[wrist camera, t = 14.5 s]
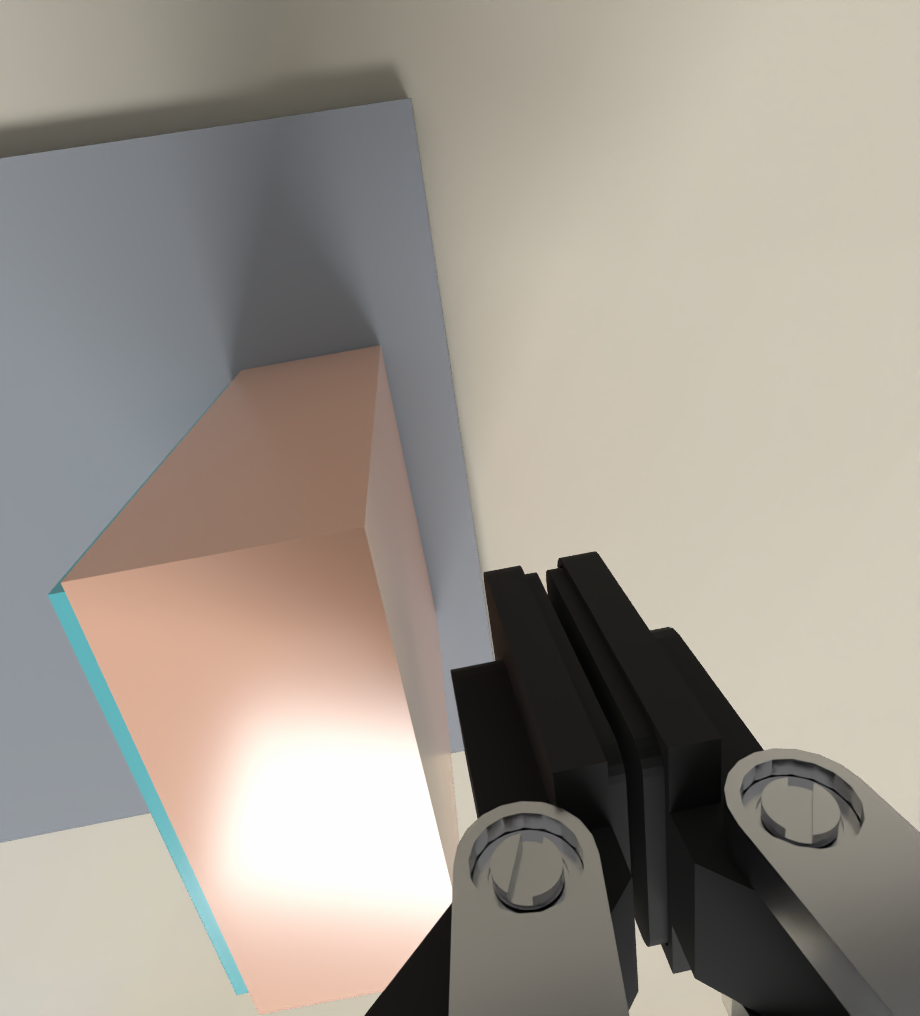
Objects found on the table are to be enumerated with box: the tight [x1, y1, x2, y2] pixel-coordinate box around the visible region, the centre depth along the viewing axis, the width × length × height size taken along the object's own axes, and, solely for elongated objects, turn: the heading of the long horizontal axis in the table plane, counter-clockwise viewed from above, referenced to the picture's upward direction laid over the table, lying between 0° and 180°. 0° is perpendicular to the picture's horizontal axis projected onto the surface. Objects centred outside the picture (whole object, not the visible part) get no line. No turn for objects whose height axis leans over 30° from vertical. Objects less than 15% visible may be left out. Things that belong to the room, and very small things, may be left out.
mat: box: [0, 98, 494, 843], centre depth 17 cm, size 16×16×1 cm
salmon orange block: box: [48, 345, 460, 1015], centre depth 12 cm, size 3×7×9 cm, turn 9°
